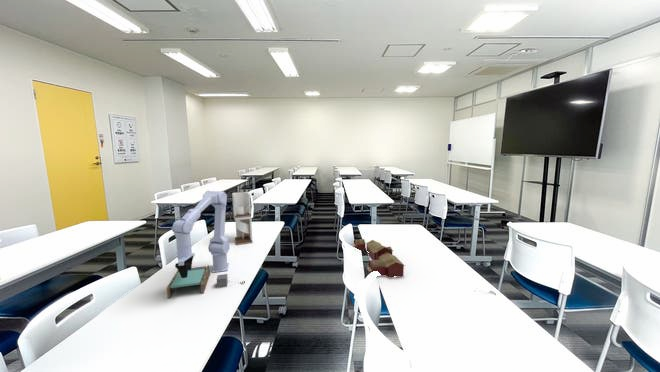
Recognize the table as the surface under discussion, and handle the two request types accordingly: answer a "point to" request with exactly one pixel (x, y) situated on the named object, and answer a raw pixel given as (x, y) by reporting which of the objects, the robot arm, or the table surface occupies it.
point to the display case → (242, 217)
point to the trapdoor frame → (203, 282)
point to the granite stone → (222, 280)
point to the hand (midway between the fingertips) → (186, 273)
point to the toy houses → (381, 258)
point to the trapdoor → (189, 278)
